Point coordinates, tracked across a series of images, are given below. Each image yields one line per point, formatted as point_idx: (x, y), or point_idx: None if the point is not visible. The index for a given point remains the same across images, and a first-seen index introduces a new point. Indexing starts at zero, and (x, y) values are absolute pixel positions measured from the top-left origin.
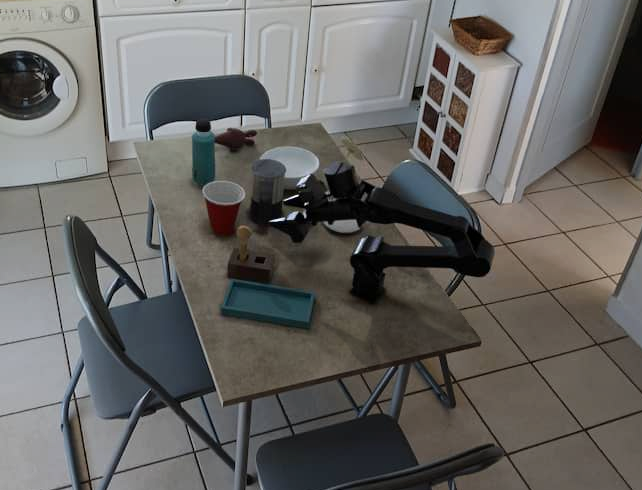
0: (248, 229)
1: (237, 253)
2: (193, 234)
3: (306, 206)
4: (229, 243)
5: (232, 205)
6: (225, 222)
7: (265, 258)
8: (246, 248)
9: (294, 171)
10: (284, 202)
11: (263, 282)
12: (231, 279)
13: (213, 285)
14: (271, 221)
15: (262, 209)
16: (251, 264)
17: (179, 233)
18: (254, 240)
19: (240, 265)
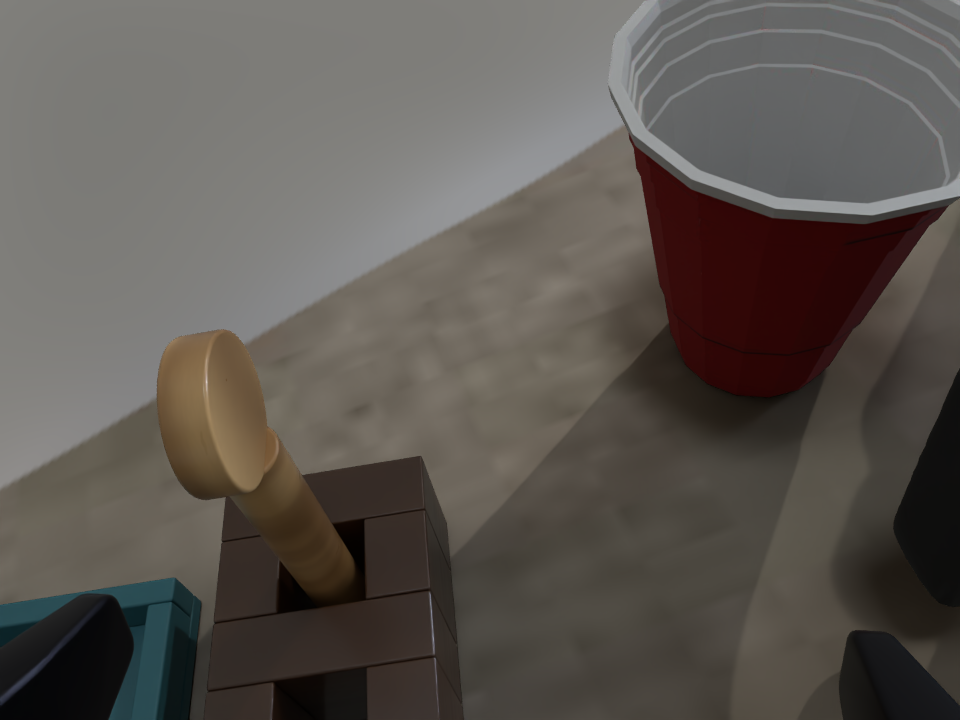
0: (168, 424)
1: (357, 507)
2: (610, 236)
3: None
4: (629, 429)
5: (693, 191)
6: (679, 295)
7: None
8: (277, 544)
9: None
10: (851, 676)
11: None
12: (165, 582)
13: (186, 501)
14: (9, 645)
15: (942, 455)
16: (240, 667)
17: (584, 185)
18: (758, 572)
19: (218, 584)
